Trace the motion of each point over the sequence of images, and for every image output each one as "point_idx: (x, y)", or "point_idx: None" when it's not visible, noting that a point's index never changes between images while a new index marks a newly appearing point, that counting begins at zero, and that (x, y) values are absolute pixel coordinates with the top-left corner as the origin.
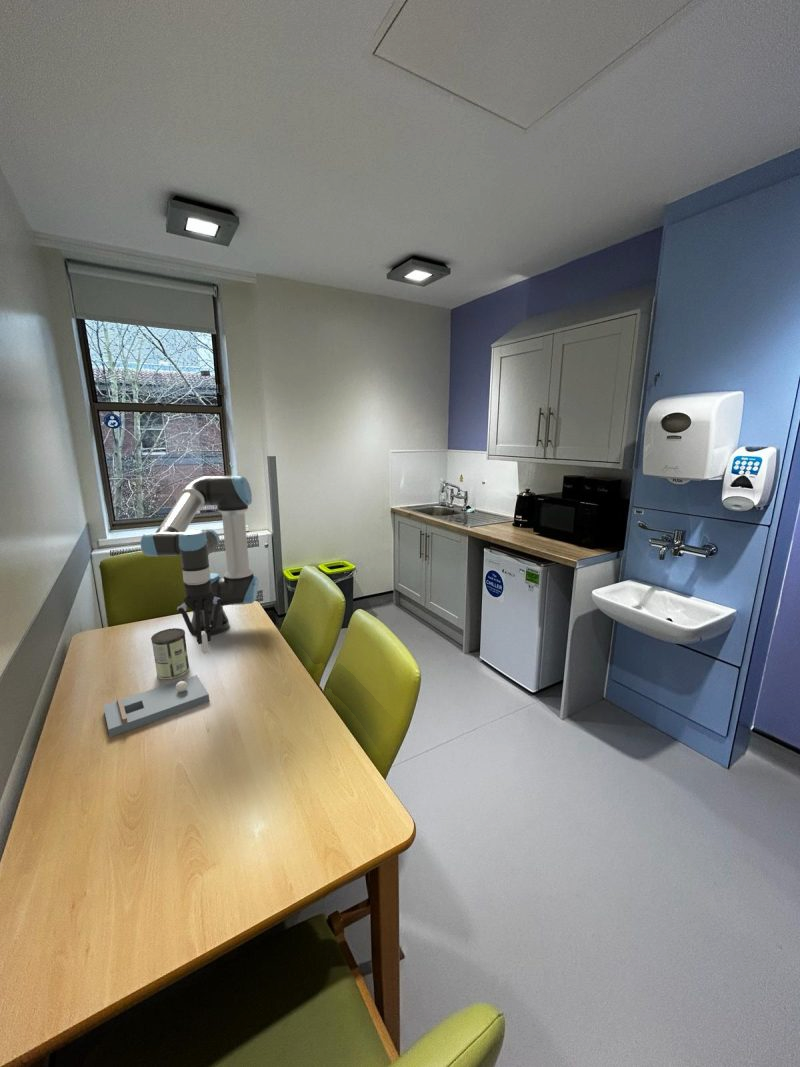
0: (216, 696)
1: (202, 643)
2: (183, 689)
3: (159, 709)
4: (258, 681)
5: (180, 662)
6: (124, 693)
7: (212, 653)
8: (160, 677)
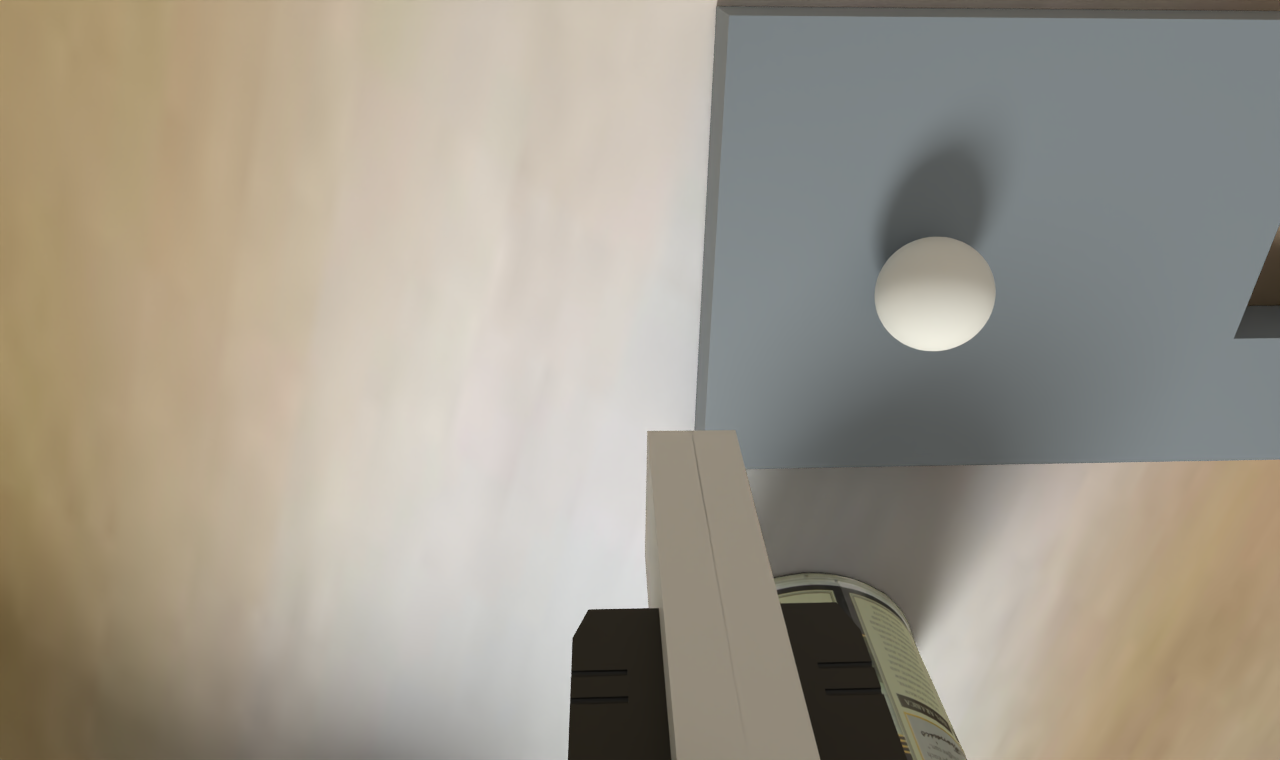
0: (627, 55)
1: (770, 590)
2: (932, 237)
3: (1225, 61)
4: (140, 50)
5: None
6: (1164, 574)
7: (471, 743)
8: (908, 627)
